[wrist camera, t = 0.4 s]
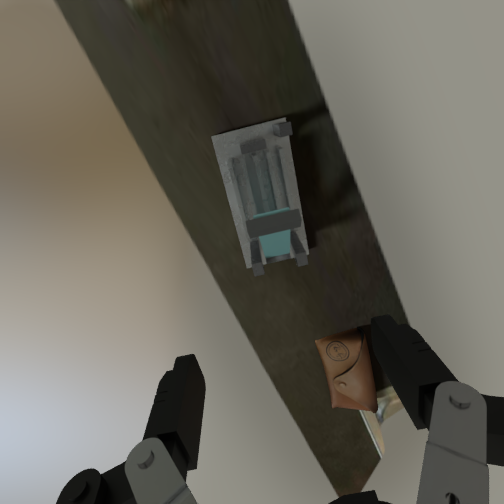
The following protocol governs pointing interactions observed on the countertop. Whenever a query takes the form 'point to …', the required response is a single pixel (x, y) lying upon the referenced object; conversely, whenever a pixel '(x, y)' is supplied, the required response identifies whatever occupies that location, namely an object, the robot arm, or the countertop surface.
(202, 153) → the countertop surface
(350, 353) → the sunglasses case
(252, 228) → the teal tile grey cap
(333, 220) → the countertop surface
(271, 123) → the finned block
